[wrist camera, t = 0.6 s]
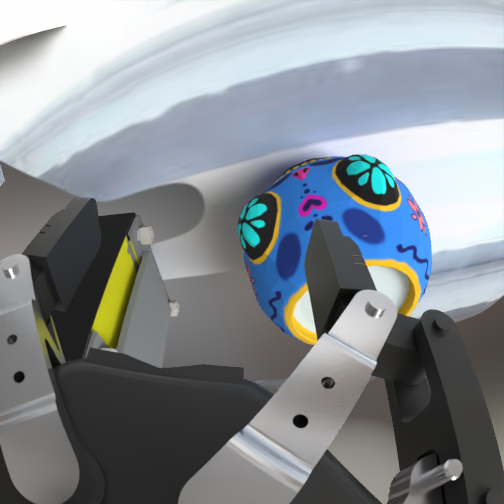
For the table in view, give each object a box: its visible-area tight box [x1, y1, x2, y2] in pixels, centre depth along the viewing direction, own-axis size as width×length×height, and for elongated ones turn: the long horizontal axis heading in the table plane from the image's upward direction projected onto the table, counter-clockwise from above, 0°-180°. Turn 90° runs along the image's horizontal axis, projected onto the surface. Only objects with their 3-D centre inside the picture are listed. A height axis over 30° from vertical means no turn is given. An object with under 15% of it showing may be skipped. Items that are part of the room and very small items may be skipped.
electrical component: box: [51, 213, 179, 368], centre depth 34 cm, size 18×10×20 cm, turn 3°
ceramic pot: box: [238, 155, 432, 345], centre depth 29 cm, size 18×18×15 cm
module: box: [0, 0, 67, 46], centre depth 15 cm, size 5×10×8 cm, turn 85°
